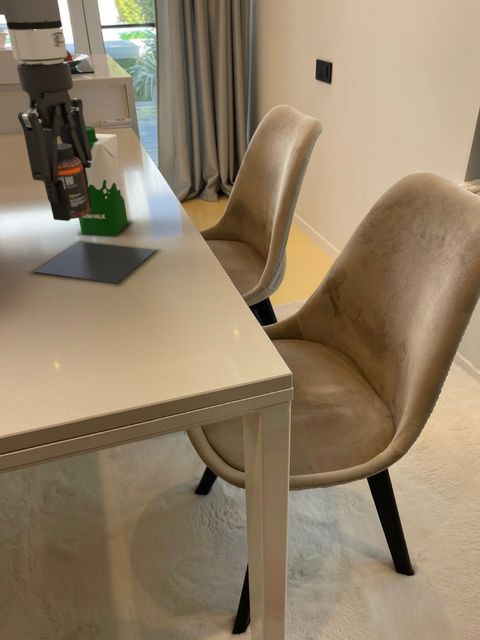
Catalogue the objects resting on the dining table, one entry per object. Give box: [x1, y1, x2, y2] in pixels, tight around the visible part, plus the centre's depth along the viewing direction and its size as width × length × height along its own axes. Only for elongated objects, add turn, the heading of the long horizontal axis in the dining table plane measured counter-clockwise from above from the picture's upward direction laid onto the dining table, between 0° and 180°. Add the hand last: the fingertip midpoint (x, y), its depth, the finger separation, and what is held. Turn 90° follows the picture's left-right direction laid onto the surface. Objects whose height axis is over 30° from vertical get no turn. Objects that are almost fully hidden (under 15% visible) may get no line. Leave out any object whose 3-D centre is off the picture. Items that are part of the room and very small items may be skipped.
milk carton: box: [78, 125, 129, 237], centre depth 108 cm, size 9×9×20 cm
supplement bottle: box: [50, 142, 90, 220], centre depth 92 cm, size 6×6×11 cm
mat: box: [34, 241, 156, 285], centre depth 99 cm, size 16×14×1 cm
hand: (73, 212), depth 95 cm, fingers closed on supplement bottle, 6 cm apart
